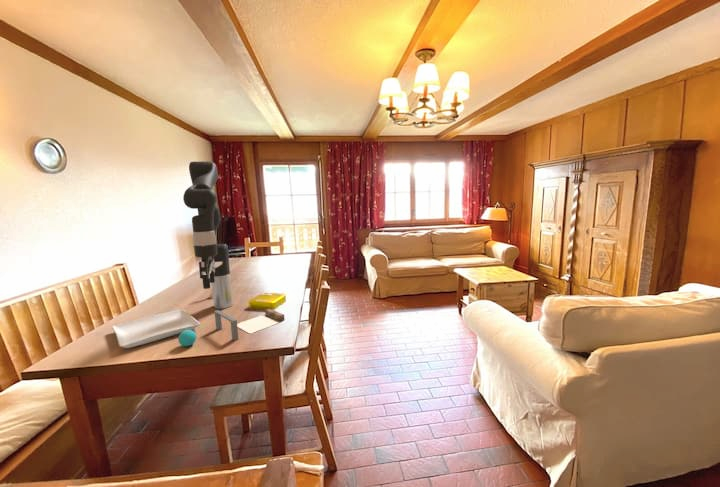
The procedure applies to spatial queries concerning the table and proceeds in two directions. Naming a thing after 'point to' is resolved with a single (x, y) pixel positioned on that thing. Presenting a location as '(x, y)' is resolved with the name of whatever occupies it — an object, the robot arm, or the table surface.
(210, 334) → the table surface
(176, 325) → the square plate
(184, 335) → the ball
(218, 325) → the grey u-shaped frame
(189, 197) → the robot arm
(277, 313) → the stopper
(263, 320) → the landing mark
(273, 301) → the element tile
